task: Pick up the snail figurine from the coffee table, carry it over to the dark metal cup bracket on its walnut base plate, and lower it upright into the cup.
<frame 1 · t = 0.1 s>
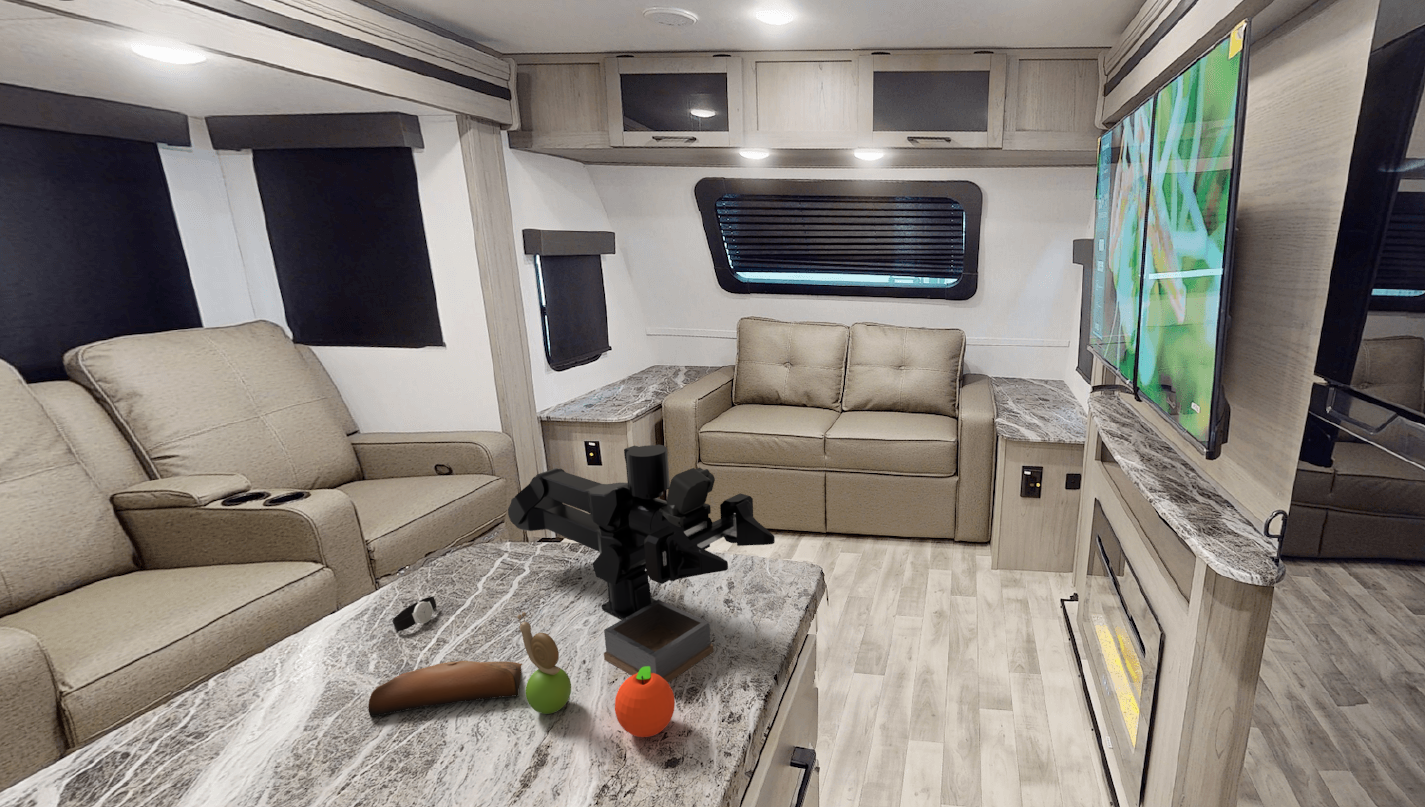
hand: (751, 552, 87), 17 cm above the table, tool horizontal, fingers open, 9 cm apart
clementine: (647, 728, 81), on the table
cup bracket: (659, 655, 95), on the table
watch: (416, 622, 107), on the table
sunglasses case: (452, 694, 90), on the table
snail figurine: (548, 708, 85), on the table
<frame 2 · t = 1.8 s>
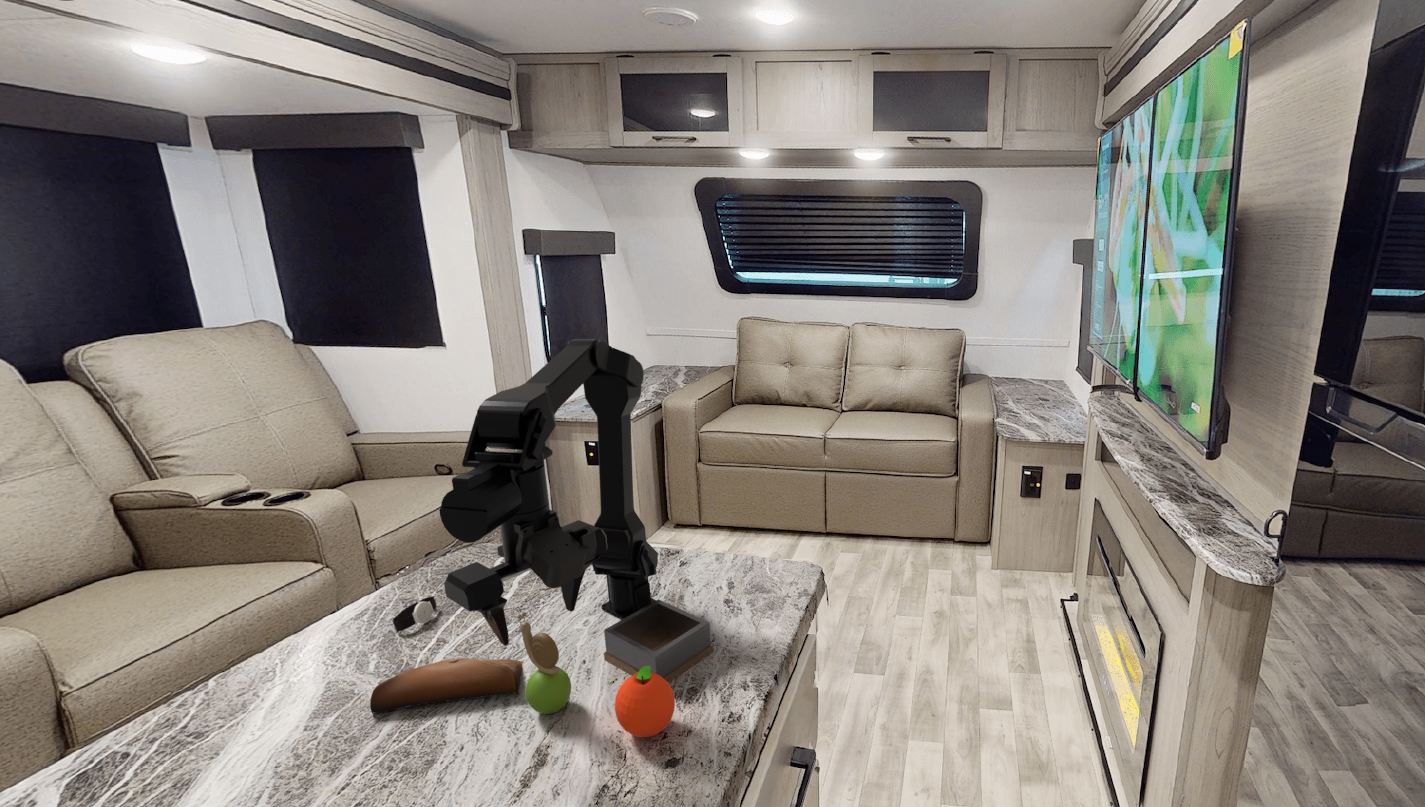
hand: (538, 626, 83), 11 cm above the table, tool pointing down, fingers open, 9 cm apart
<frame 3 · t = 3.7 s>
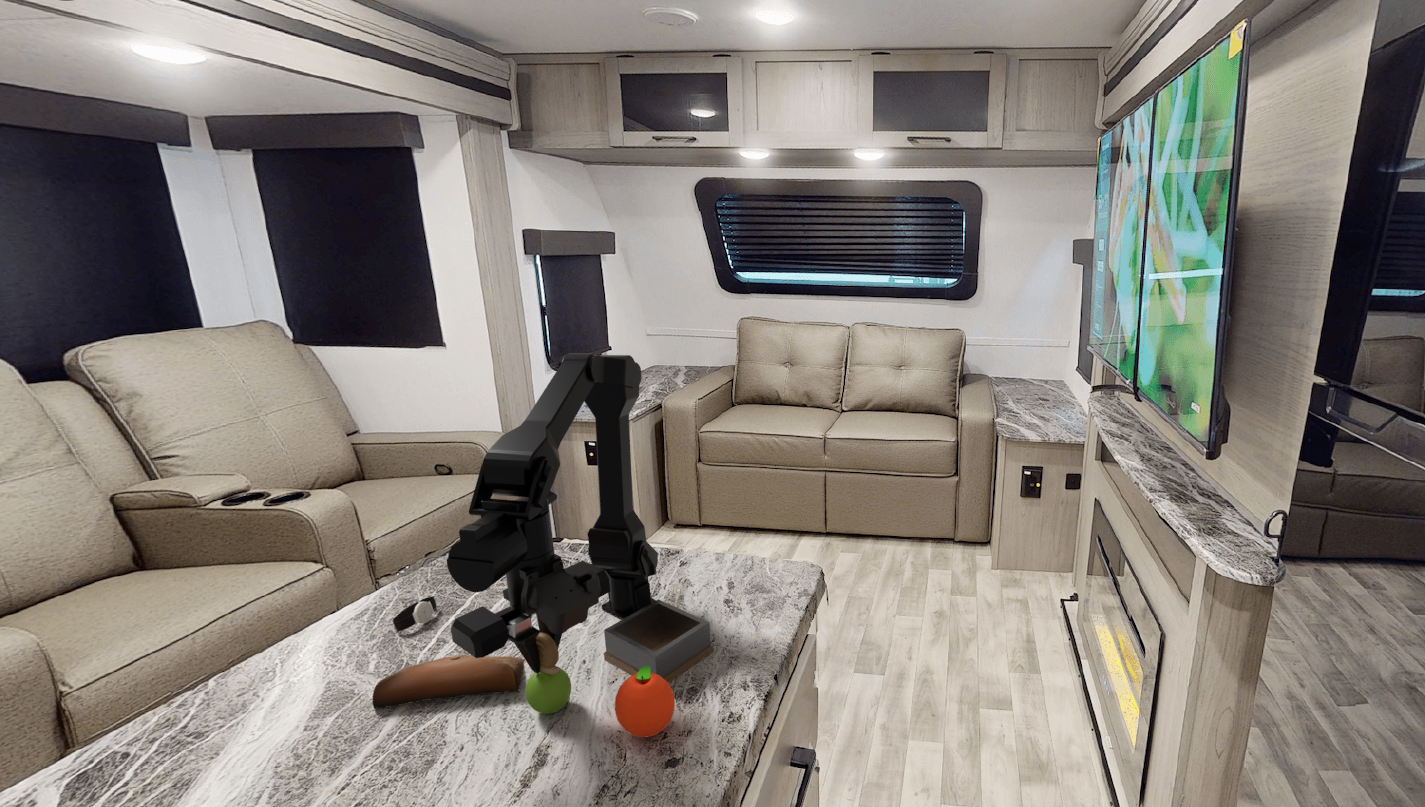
hand: (543, 667, 84), 6 cm above the table, tool pointing down, fingers closed on snail figurine
snail figurine: (548, 708, 85), on the table, touching gripper
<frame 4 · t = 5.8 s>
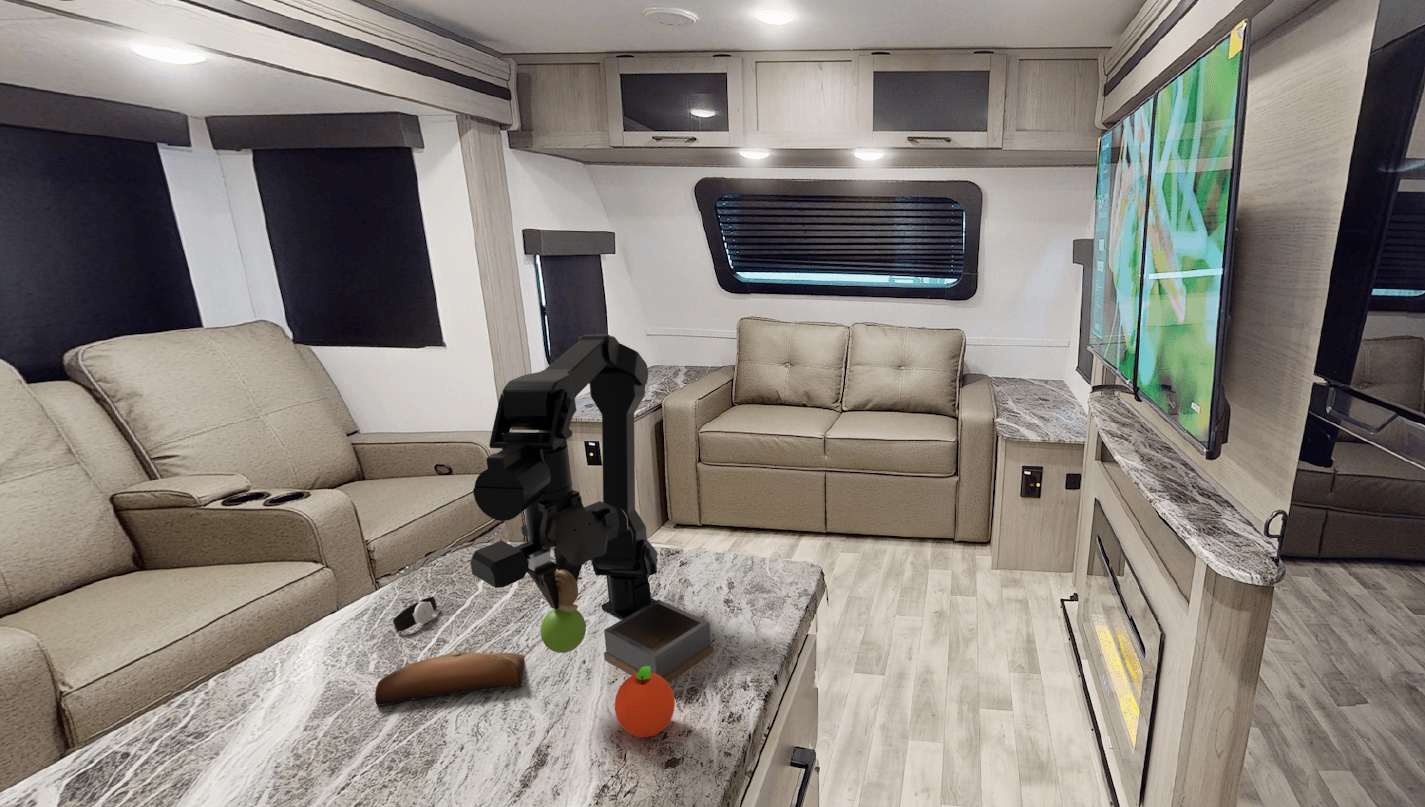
hand: (561, 604, 84), 13 cm above the table, tool pointing down, fingers closed on snail figurine
snail figurine: (560, 650, 85), point 7 cm above the table, touching gripper
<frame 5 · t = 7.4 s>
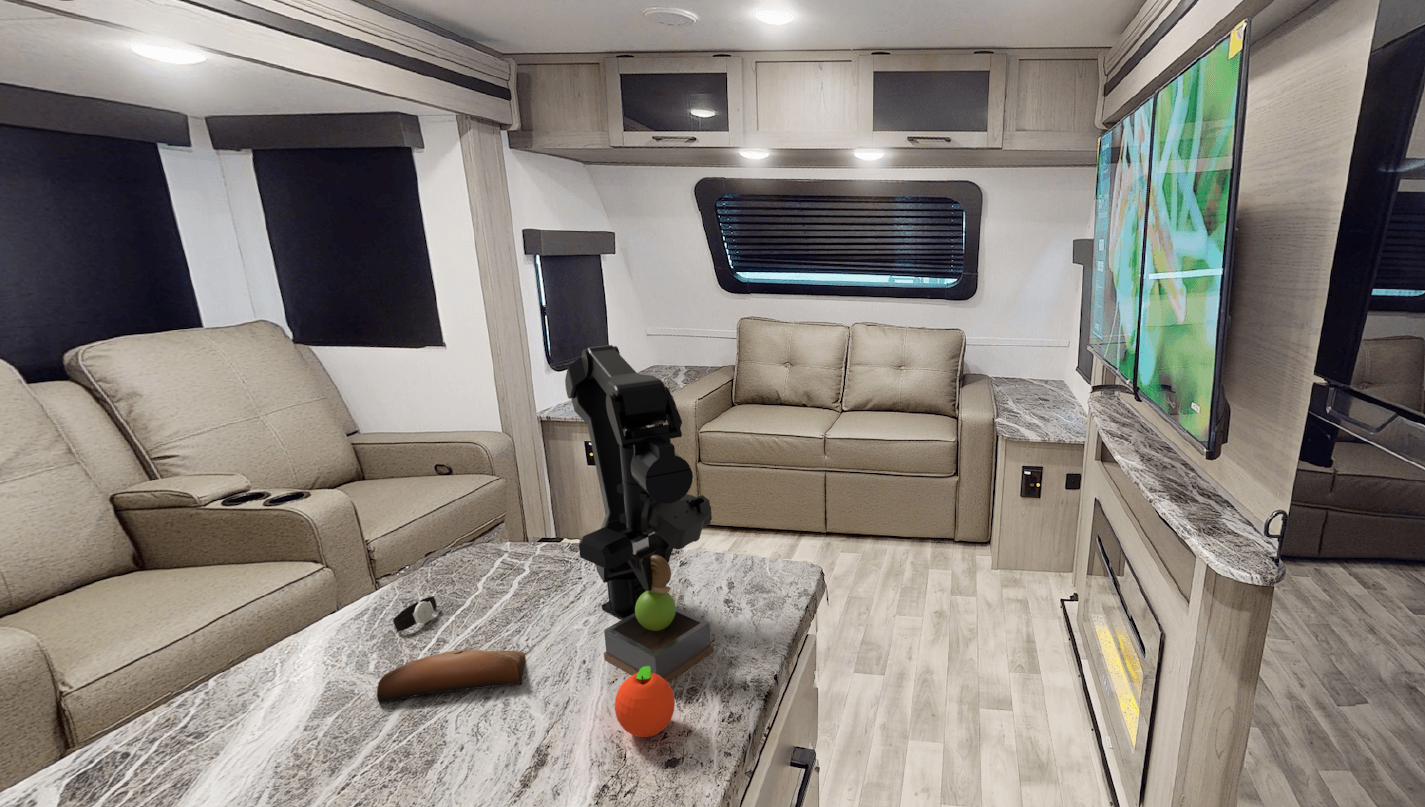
hand: (653, 587, 92), 10 cm above the table, tool pointing down, fingers closed on snail figurine
snail figurine: (652, 628, 93), point 4 cm above the table, touching gripper
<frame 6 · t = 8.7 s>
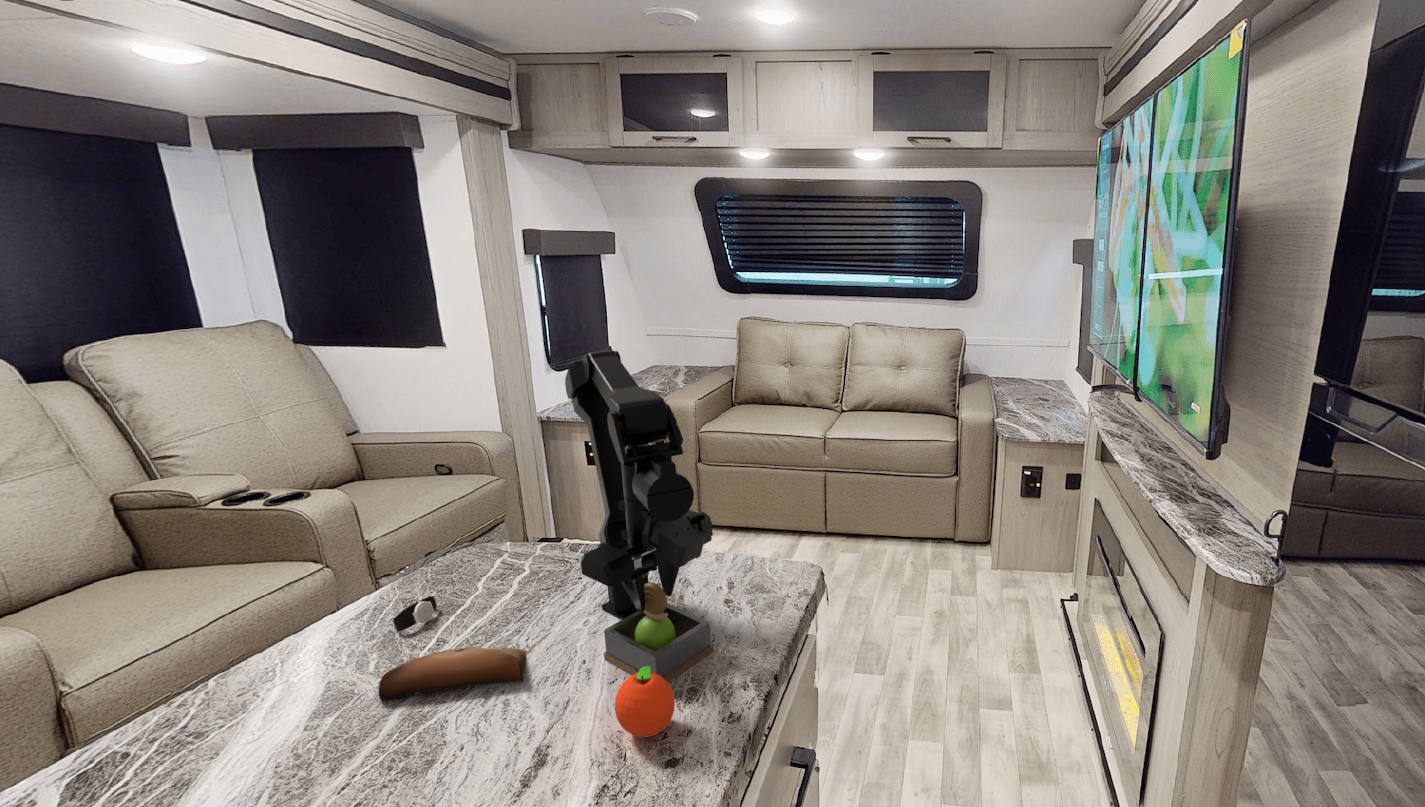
hand: (654, 602, 93), 8 cm above the table, tool pointing down, fingers open, 5 cm apart
snail figurine: (653, 652, 94), point 1 cm above the table, touching cup bracket
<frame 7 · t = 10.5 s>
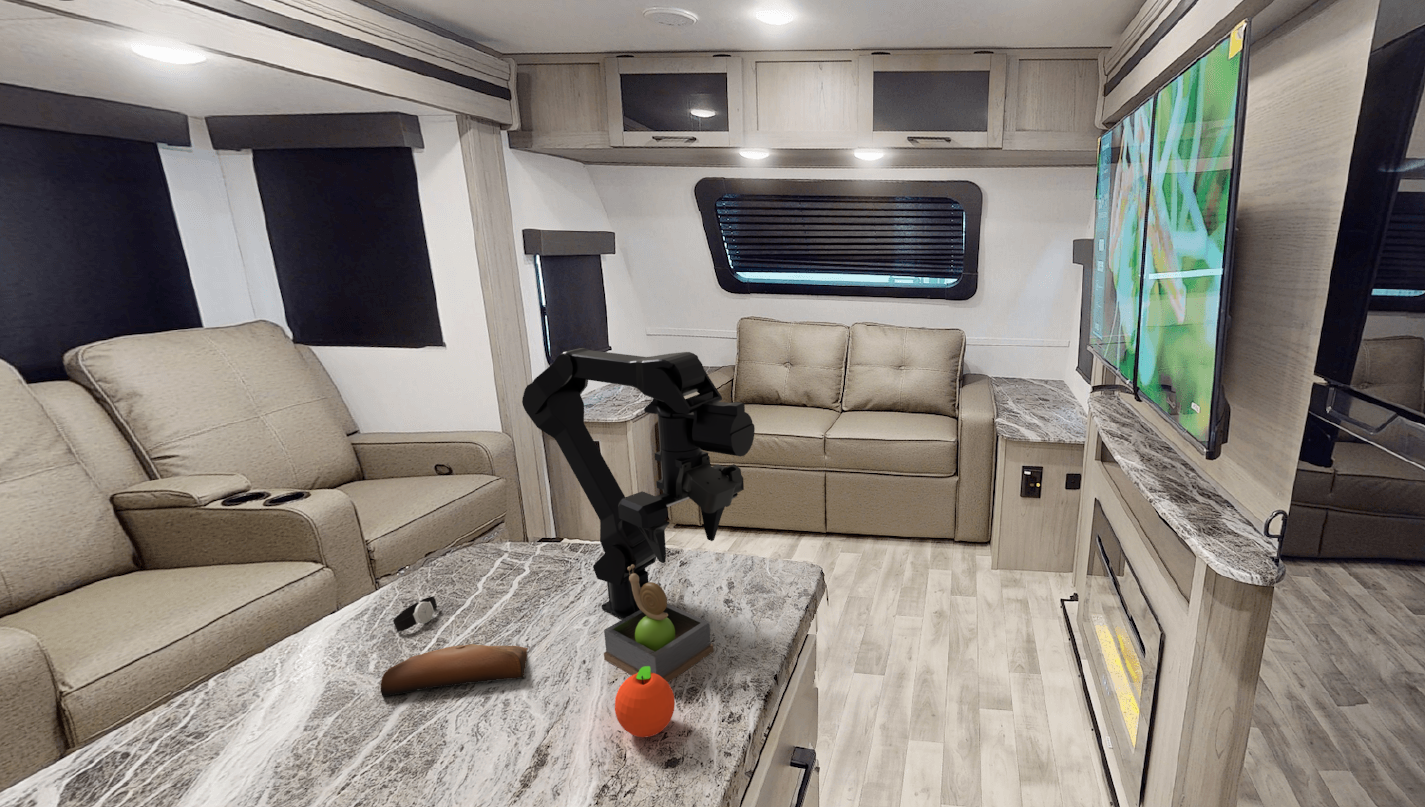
hand: (687, 550, 98), 12 cm above the table, tool pointing down, fingers open, 9 cm apart
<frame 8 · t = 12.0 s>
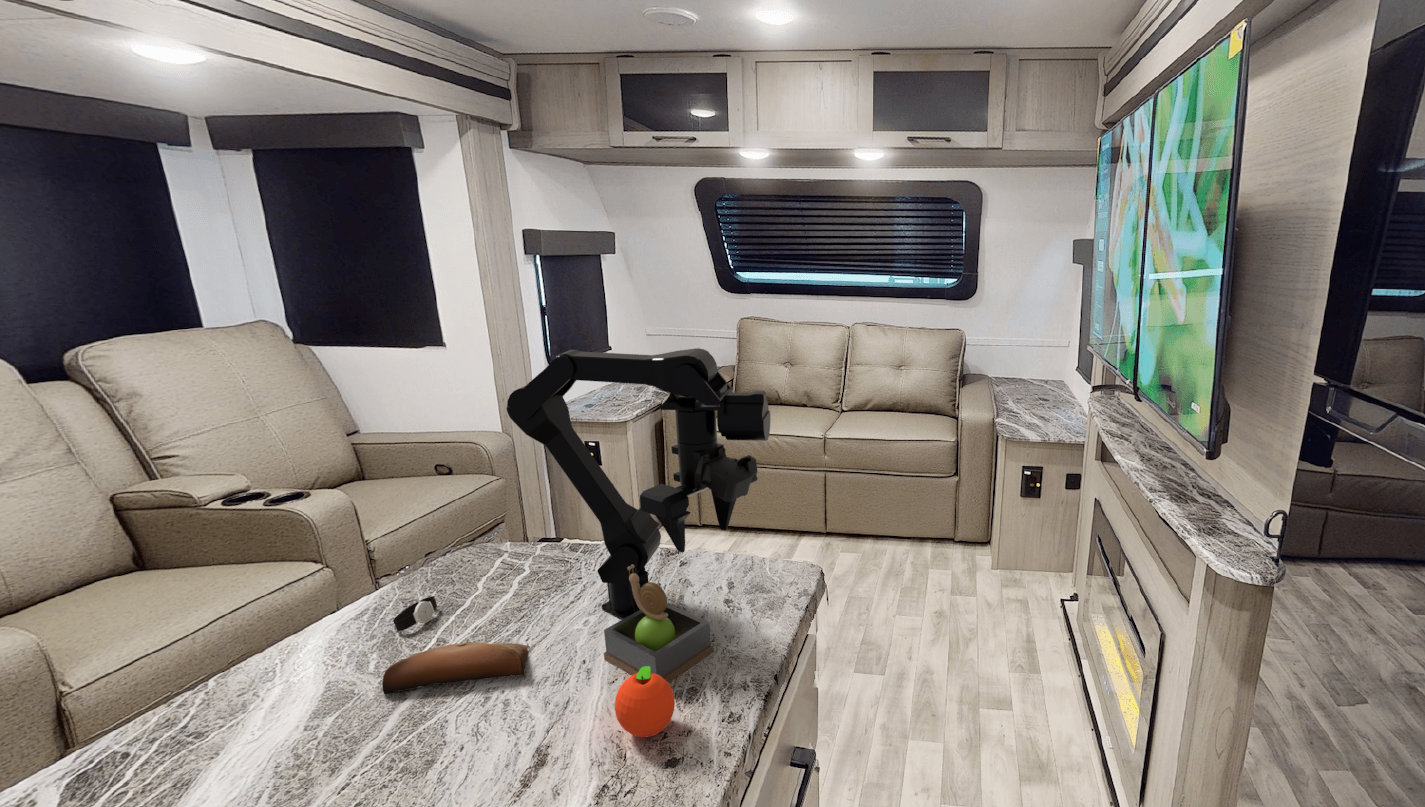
hand: (703, 540, 102), 12 cm above the table, tool pointing down, fingers open, 9 cm apart
at the end: snail figurine 0.8 cm off-centre on the cup bracket, point 0.8 cm above the cup bracket's base; snail figurine tilted 0°; the gripper is holding nothing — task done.
